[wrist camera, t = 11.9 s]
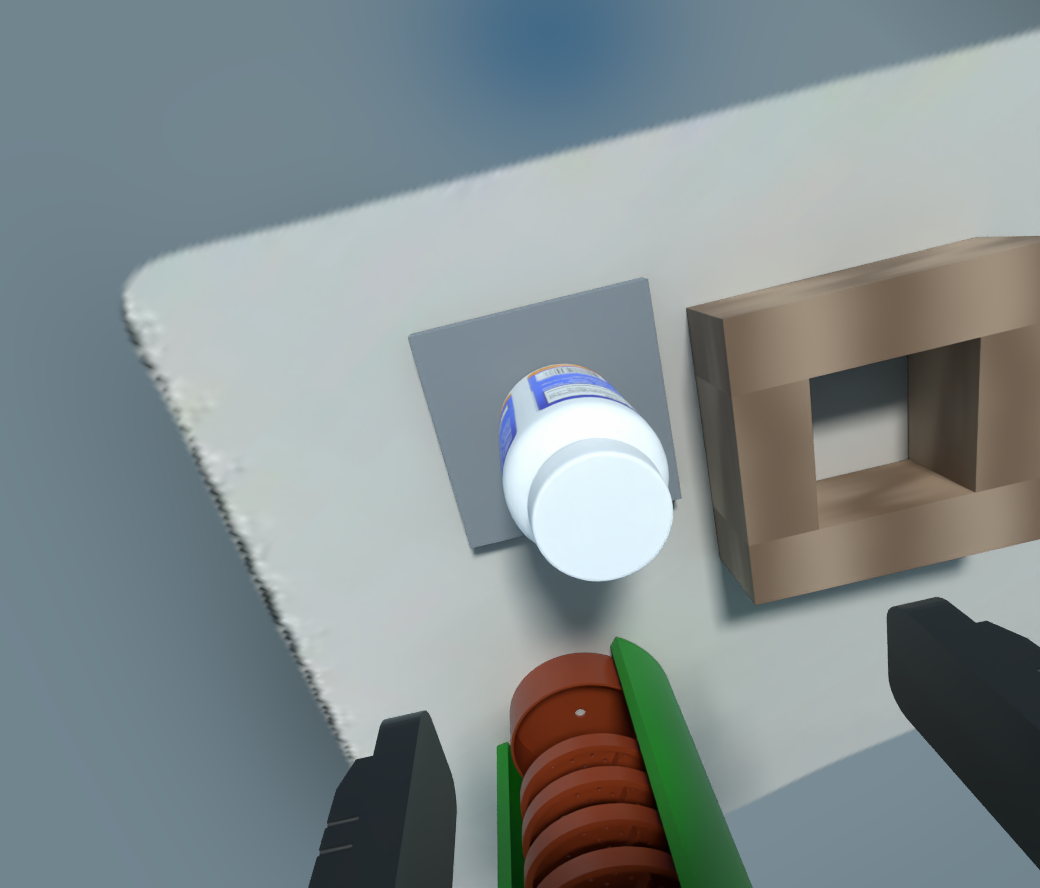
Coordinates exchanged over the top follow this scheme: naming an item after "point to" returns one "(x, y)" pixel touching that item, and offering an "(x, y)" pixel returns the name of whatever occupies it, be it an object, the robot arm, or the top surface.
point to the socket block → (931, 411)
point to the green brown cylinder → (607, 783)
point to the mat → (513, 355)
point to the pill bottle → (583, 474)
